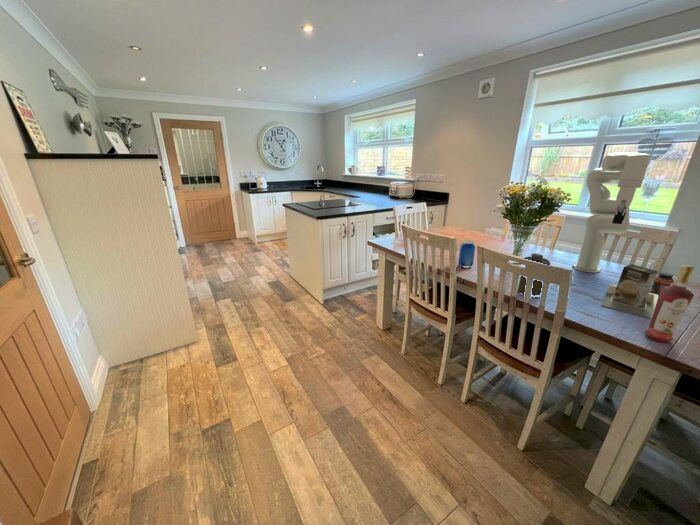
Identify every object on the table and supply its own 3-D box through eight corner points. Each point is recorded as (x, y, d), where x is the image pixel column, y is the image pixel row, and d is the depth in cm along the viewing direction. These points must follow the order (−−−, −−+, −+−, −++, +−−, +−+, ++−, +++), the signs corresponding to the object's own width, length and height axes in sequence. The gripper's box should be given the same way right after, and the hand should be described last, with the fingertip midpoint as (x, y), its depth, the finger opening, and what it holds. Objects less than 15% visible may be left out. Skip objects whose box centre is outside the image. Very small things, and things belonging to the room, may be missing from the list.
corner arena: (606, 292, 133) (609, 284, 131) (654, 303, 122) (658, 294, 120) (601, 306, 121) (604, 297, 120) (653, 319, 110) (658, 310, 109)
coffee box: (611, 298, 126) (622, 266, 120) (620, 295, 128) (631, 263, 123) (637, 307, 118) (650, 273, 112) (645, 304, 120) (658, 270, 114)
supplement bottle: (671, 299, 125) (681, 276, 121) (655, 298, 126) (664, 276, 122) (660, 293, 130) (669, 271, 126) (645, 292, 131) (653, 271, 127)
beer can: (459, 268, 167) (462, 243, 162) (456, 264, 175) (459, 239, 169) (474, 269, 166) (477, 243, 160) (470, 264, 173) (473, 240, 168)
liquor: (650, 342, 97) (680, 269, 88) (638, 330, 104) (665, 261, 94) (677, 346, 95) (712, 271, 85) (664, 334, 101) (694, 263, 91)
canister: (512, 291, 137) (519, 253, 130) (526, 287, 141) (534, 250, 134) (533, 300, 128) (542, 260, 121) (548, 295, 132) (557, 256, 125)
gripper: (620, 182, 130) (609, 217, 136) (616, 185, 119) (604, 224, 125) (642, 182, 124) (630, 219, 130) (640, 185, 113) (627, 226, 119)
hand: (617, 221), depth 128 cm, fingers open, 9 cm apart
